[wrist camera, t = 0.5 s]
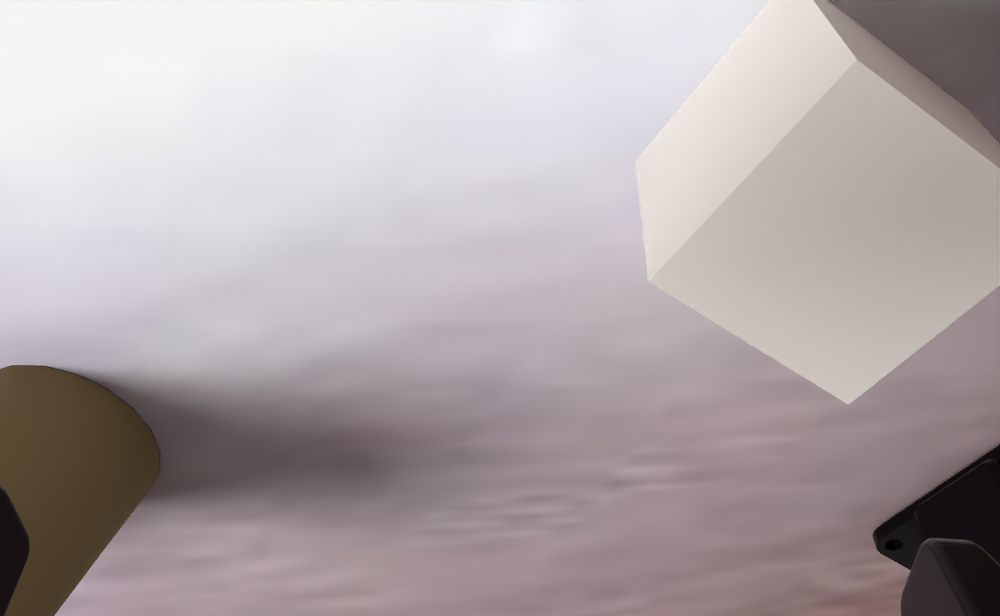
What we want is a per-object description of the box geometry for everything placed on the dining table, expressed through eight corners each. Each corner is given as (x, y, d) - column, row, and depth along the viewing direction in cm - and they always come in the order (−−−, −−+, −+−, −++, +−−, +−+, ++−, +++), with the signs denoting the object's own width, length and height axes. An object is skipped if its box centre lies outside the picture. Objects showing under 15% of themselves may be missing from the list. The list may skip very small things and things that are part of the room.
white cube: (966, 107, 18) (1075, 225, 14) (797, 267, 21) (848, 404, 17) (791, -29, 17) (856, 59, 13) (634, 159, 20) (648, 281, 16)
